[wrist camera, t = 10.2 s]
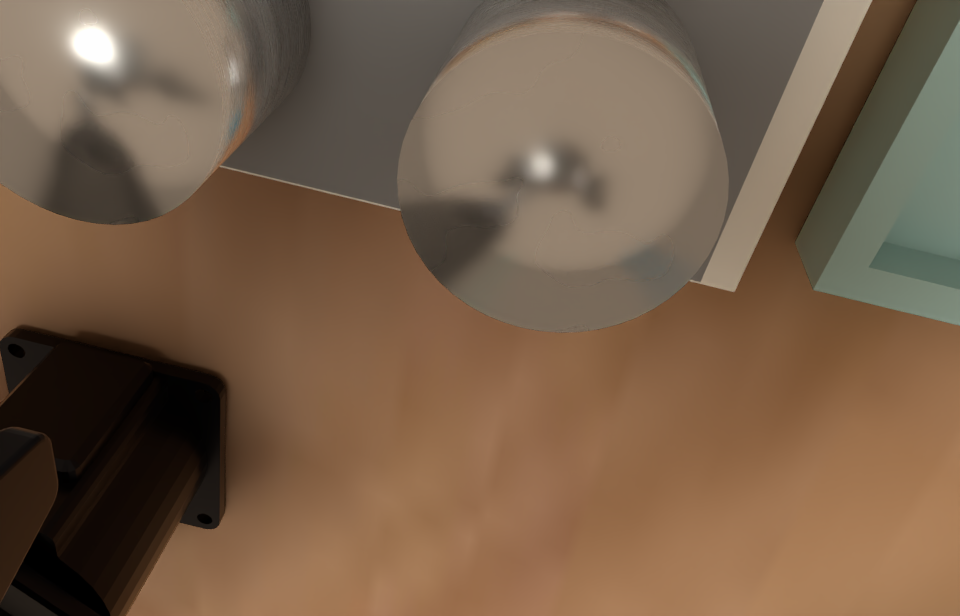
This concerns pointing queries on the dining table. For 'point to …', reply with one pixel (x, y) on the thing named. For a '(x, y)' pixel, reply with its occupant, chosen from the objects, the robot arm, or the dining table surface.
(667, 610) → the dining table surface
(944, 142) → the tray
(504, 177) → the cylinder
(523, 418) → the dining table surface
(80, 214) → the cylinder
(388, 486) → the dining table surface
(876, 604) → the dining table surface
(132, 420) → the robot arm
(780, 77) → the scale
